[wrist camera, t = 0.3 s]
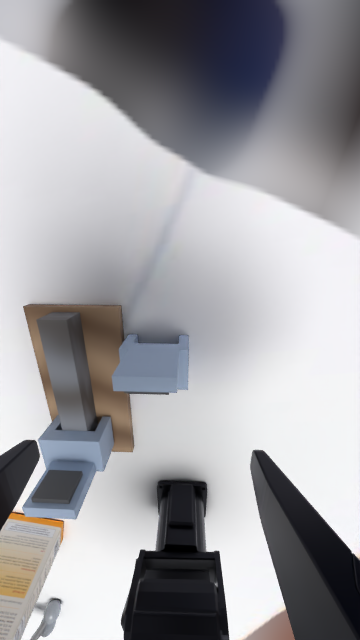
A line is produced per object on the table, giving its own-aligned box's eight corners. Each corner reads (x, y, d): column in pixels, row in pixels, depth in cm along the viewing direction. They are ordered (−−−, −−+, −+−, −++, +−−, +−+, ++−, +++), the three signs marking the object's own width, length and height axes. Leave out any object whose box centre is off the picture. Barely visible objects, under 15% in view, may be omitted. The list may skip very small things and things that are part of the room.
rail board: (134, 446, 26) (127, 470, 23) (62, 443, 26) (47, 467, 23) (121, 305, 20) (109, 314, 17) (29, 304, 20) (3, 313, 17)
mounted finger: (114, 443, 24) (85, 519, 17) (64, 442, 24) (16, 516, 18) (110, 416, 23) (78, 487, 16) (57, 415, 23) (3, 484, 16)
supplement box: (11, 529, 32) (-98, 704, 20) (10, 510, 31) (-109, 686, 18) (64, 539, 33) (-12, 716, 20) (65, 521, 31) (-15, 700, 19)
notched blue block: (187, 370, 22) (187, 424, 15) (131, 368, 22) (106, 422, 15) (188, 335, 21) (188, 377, 14) (128, 334, 21) (99, 375, 14)
